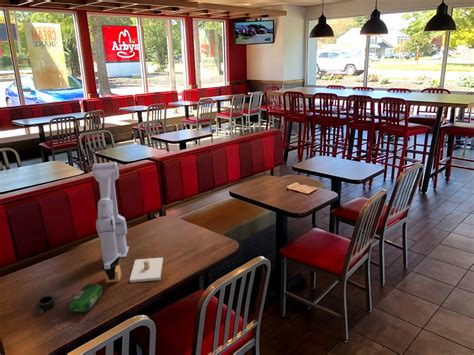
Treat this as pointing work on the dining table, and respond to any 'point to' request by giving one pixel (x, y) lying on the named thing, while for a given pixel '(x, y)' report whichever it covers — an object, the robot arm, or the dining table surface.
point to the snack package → (86, 298)
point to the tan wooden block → (117, 275)
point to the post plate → (146, 270)
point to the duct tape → (46, 303)
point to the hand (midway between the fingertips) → (113, 275)
